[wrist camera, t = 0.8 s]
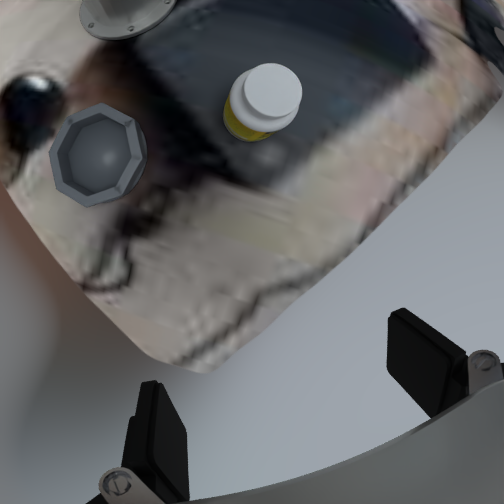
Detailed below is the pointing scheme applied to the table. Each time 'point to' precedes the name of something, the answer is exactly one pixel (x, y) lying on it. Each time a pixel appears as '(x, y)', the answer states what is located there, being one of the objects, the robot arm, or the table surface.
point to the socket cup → (98, 155)
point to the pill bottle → (262, 102)
